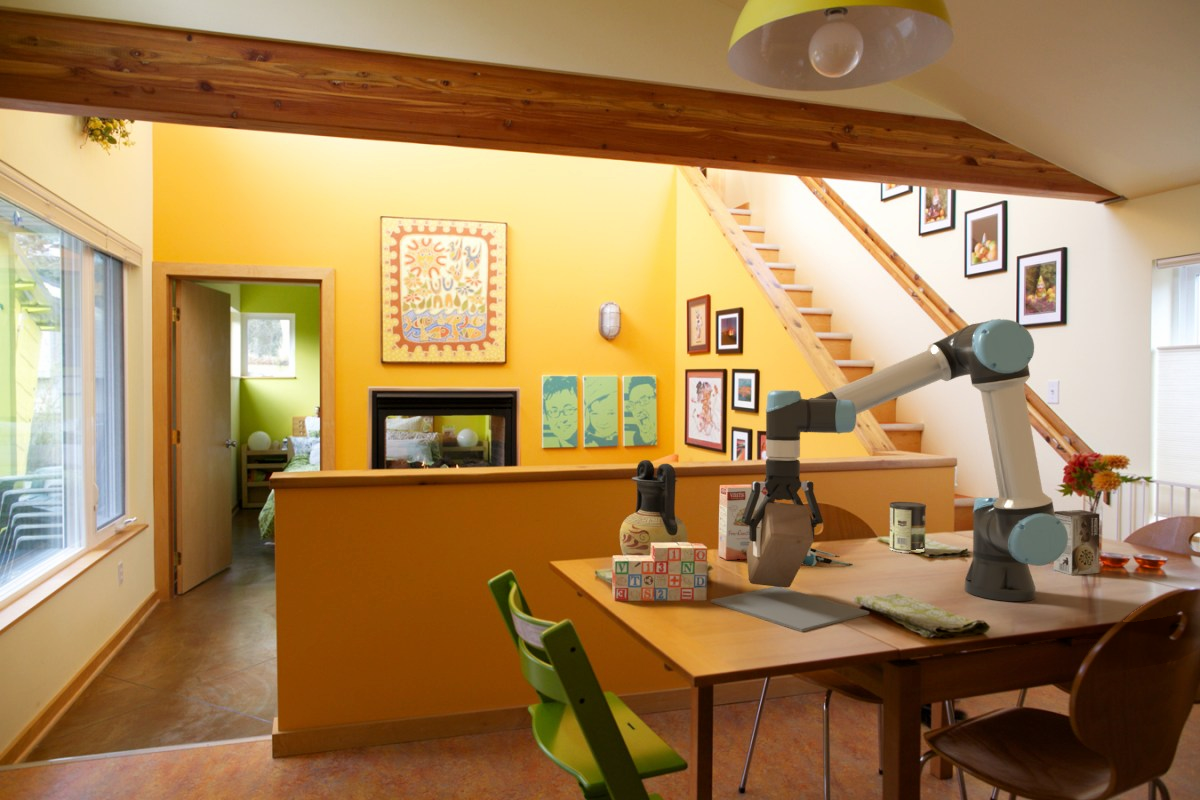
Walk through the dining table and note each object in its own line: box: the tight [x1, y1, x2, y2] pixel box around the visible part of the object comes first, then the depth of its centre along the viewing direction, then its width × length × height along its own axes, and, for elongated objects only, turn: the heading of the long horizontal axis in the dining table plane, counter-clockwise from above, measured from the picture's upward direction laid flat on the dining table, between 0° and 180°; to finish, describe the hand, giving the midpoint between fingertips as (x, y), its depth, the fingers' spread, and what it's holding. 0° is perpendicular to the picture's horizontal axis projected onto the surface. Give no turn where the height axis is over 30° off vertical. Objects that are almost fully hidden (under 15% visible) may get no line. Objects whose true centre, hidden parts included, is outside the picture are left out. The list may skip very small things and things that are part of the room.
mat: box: [710, 586, 870, 633], centre depth 173 cm, size 26×22×1 cm
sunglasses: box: [802, 547, 853, 567], centre depth 222 cm, size 14×15×5 cm
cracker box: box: [717, 484, 768, 561], centre depth 225 cm, size 14×6×21 cm, turn 105°
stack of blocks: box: [611, 541, 708, 602], centre depth 182 cm, size 21×6×12 cm, turn 94°
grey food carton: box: [1053, 509, 1100, 576], centre depth 211 cm, size 9×6×16 cm
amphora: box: [619, 459, 688, 556], centre depth 197 cm, size 18×17×30 cm
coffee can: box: [888, 501, 927, 554], centre depth 237 cm, size 10×10×14 cm
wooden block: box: [746, 501, 815, 589], centre depth 180 cm, size 10×10×20 cm
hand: (781, 555), depth 177 cm, fingers closed on wooden block, 11 cm apart
